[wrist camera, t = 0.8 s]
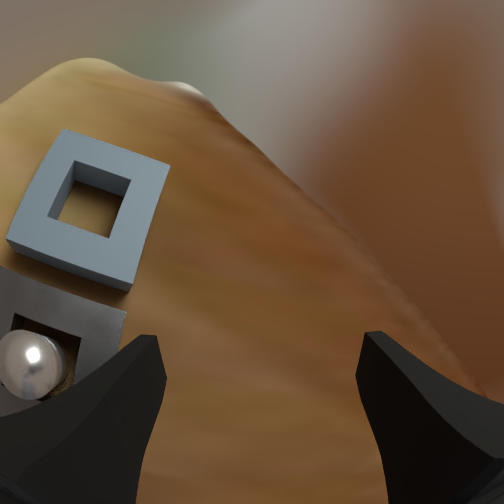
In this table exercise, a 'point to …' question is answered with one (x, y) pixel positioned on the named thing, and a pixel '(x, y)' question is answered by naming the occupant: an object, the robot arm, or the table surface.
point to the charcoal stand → (57, 326)
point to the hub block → (78, 240)
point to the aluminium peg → (32, 363)
